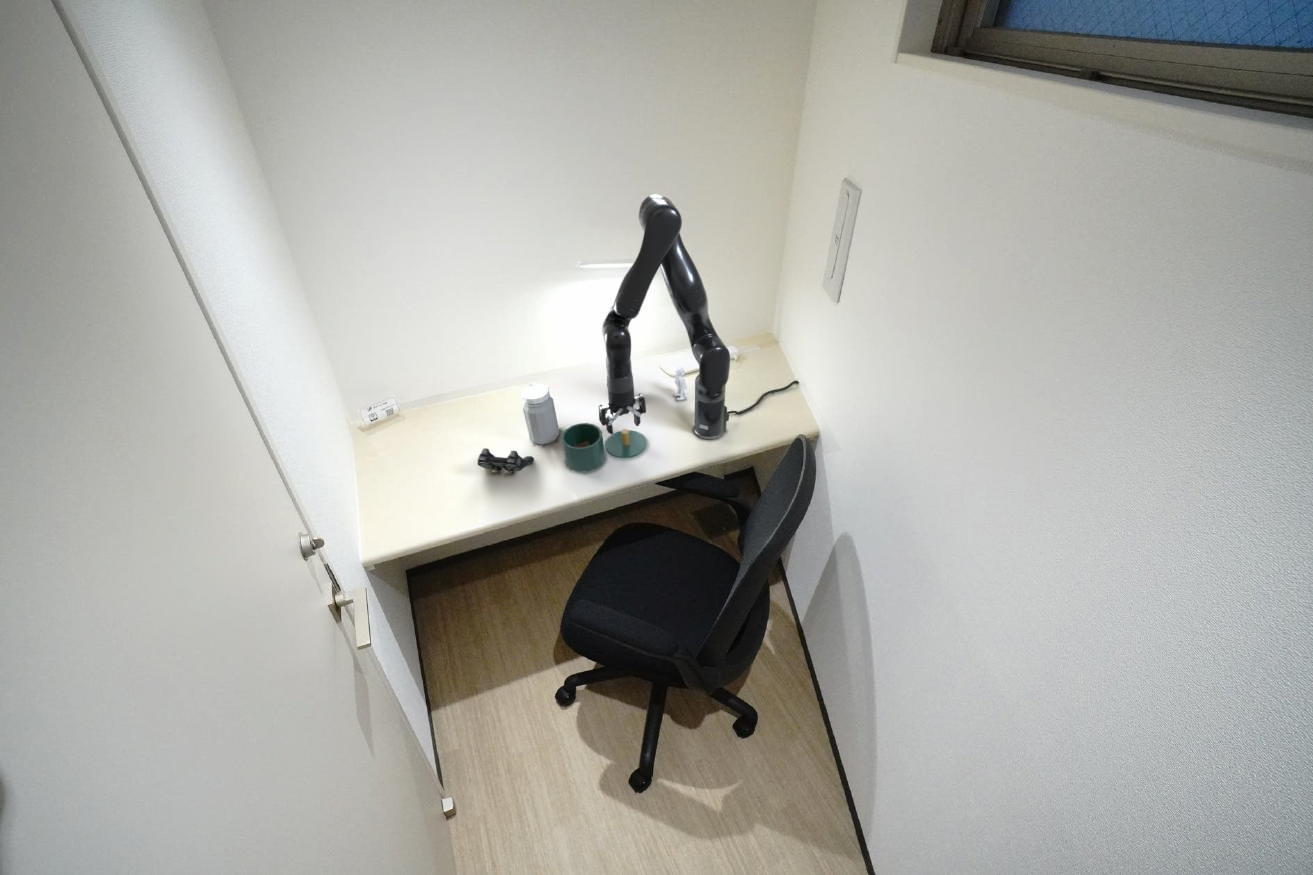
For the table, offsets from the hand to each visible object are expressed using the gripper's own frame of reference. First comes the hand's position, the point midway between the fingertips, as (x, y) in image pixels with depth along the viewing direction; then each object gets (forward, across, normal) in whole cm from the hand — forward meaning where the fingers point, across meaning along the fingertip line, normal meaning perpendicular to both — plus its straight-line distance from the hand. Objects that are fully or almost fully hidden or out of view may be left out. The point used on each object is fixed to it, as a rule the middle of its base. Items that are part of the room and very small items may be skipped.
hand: (623, 428), depth 169 cm
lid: (+6, 0, 0) cm, 7 cm away
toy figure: (+7, +27, +15) cm, 31 cm away
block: (+7, -13, 0) cm, 15 cm away
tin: (+7, -13, 0) cm, 15 cm away
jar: (+8, -21, +16) cm, 28 cm away
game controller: (+8, -36, +8) cm, 38 cm away
